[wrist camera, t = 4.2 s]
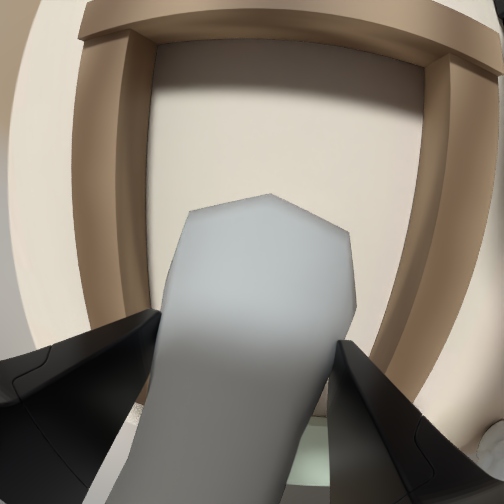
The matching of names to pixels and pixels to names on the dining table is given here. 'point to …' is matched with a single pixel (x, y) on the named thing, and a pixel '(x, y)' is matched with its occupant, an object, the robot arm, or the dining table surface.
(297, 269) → the flask
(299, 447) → the pad
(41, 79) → the dining table surface
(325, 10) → the frame
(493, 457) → the frog figurine
